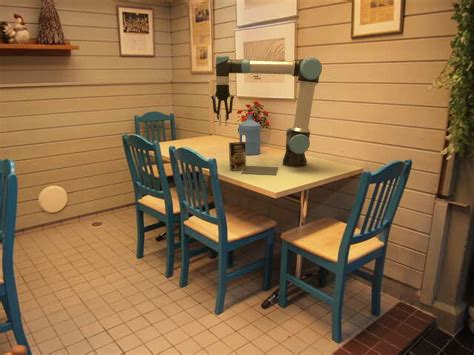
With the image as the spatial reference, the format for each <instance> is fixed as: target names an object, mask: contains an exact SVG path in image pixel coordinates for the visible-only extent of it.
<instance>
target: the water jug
mask: <svg viewBox="0 0 474 355" xmlns="http://www.w3.org/2000/svg"><path fill="white" fill-rule="evenodd" d="M261 130H262V125H261V123H259V122H257V121H255V120H253V114H252V113H248V114H247V119H246V120H245V121H243V122H240V123H239V124H238V135H239V142H244V143H245V149H246V156H256V155H259V154H261V140H262V138H261V137H262V136H261ZM243 136H244V137H245V141H243Z"/></svg>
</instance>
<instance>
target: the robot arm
mask: <svg viewBox="0 0 474 355" xmlns="http://www.w3.org/2000/svg"><path fill="white" fill-rule="evenodd" d="M322 72H323V65H322V63H321V61H320V60H319V59H317V58H316V57H313V56H311V57H310V56H309V57H305V58H300V59H292V60H291V61H289V60H288V61H287V60H285V61H284V60H254V59H253V60H250V59H244V58H243V59H230V56H228V55H217V56H216V57H215V83H216V85H215V94H214V95H211V96H210V98H211V100H212V107H213V113H214V114H216V119H217V120H218V126H220V127H221V125H222V113H220V112H221V106H222V101H223V102H224V108H225V114H224V126H225V127H226V126H228V120H229V118H230V115H229V114H232V113H233V105H234V104H233V102H234V99H235V96H234V95H231V92H230V74H257V75H258V74H259V75H260V74H262V75H289V76H291V77H297V82H298V84H299V87H298V95H297V101H296V108H295V113H294V122H293V126H292V127H291V128H289V127H288V128H287V129H286V133H285V134H286V137H285V138H286V140H285V153H284V155H283V159H282V165H283V166H285V167H291V168H300V167H305V166H307V162H308V161H307V157H306V152H307V151H308V150H309V148H310V147H311V146H310V145H311V141H310V136H311V130H310V129H309V125H310V119H311V114H312V107H313V101H314V94H315V88H316V86H317V85H318V84H319V80H320V76H321V74H322ZM216 99H217V101H216ZM228 99H229V104H228ZM216 102H217V103H216Z"/></svg>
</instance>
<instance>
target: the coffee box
mask: <svg viewBox="0 0 474 355" xmlns="http://www.w3.org/2000/svg"><path fill="white" fill-rule="evenodd" d="M244 142H245V141H242V142H240V141H238V142H236V141H235V142H234V141H233V142H228V155H229V157H228V158H229V160H228V161H229V169H230V170H231V172H237V171H243V170H246V166H247V155H246V149H245V143H244Z"/></svg>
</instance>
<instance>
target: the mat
mask: <svg viewBox="0 0 474 355" xmlns="http://www.w3.org/2000/svg"><path fill="white" fill-rule="evenodd" d="M278 170H279V167H278V166H263V165H261V166H260V165H258V166H257V165H246V170H241V175H259V176H261V175H262V176H277V173H278Z"/></svg>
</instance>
